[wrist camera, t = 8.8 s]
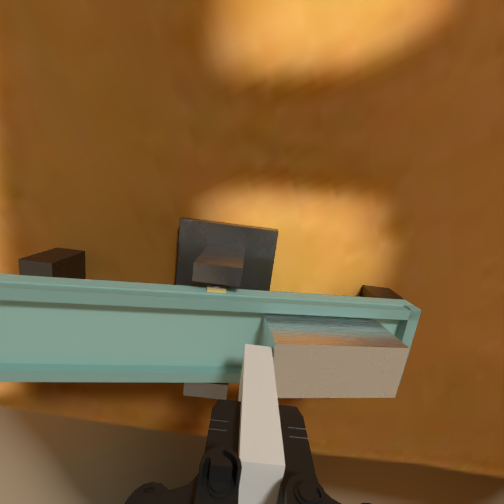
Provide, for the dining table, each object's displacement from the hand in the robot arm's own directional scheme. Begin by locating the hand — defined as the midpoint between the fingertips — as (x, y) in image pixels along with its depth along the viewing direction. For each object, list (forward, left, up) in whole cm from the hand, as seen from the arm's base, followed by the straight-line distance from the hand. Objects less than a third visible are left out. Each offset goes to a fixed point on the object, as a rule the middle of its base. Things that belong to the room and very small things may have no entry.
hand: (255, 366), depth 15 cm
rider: (0, +4, -4) cm, 6 cm away
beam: (0, -3, -3) cm, 4 cm away
